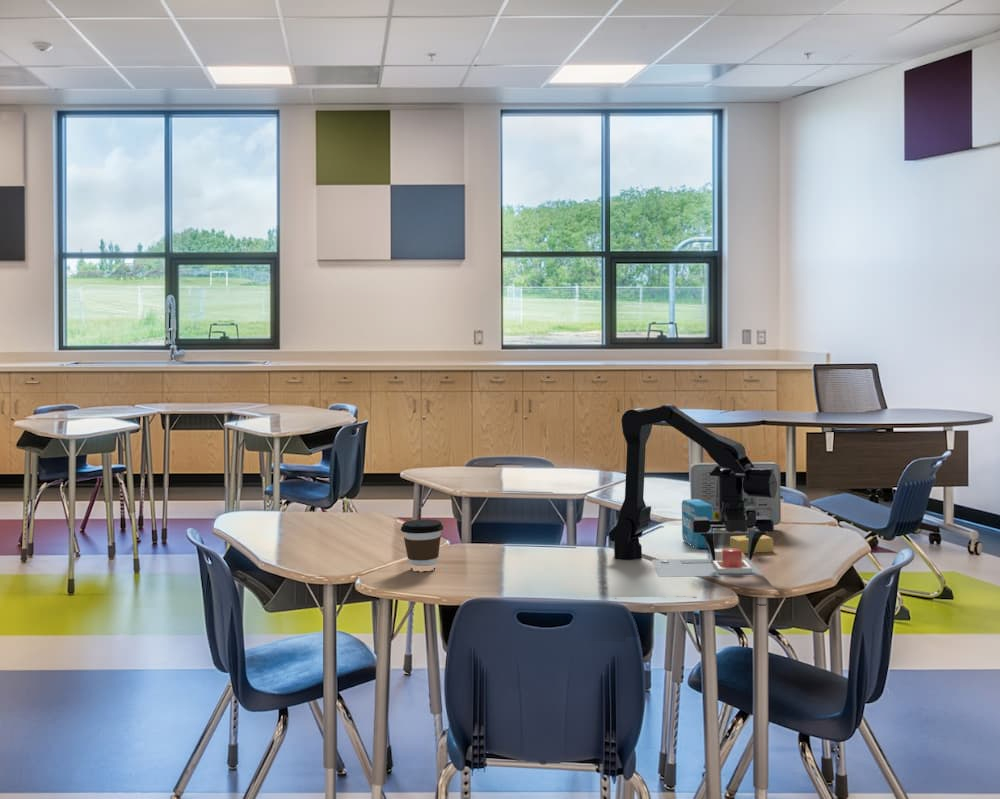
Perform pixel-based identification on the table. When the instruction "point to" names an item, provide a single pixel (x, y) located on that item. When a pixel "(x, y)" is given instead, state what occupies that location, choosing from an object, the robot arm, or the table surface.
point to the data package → (695, 510)
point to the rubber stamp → (742, 541)
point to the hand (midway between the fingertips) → (731, 559)
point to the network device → (708, 492)
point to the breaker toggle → (717, 555)
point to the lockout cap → (731, 558)
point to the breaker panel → (702, 568)
